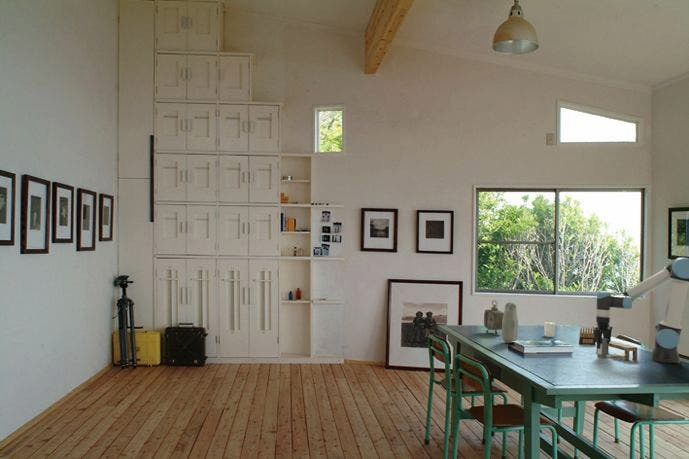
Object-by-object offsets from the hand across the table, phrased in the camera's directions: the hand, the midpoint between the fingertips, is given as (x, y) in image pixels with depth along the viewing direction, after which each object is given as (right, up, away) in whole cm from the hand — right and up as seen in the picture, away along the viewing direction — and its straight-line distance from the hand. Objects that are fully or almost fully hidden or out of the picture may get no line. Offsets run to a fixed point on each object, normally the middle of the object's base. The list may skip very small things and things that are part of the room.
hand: (602, 353), depth 322 cm
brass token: (+18, -3, +6) cm, 19 cm away
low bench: (+11, -2, +3) cm, 11 cm away
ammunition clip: (+9, -3, +39) cm, 40 cm away
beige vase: (-47, -1, +33) cm, 58 cm away
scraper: (+7, -2, +2) cm, 8 cm away
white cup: (-7, -3, +65) cm, 65 cm away
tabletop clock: (-48, -1, +68) cm, 83 cm away
